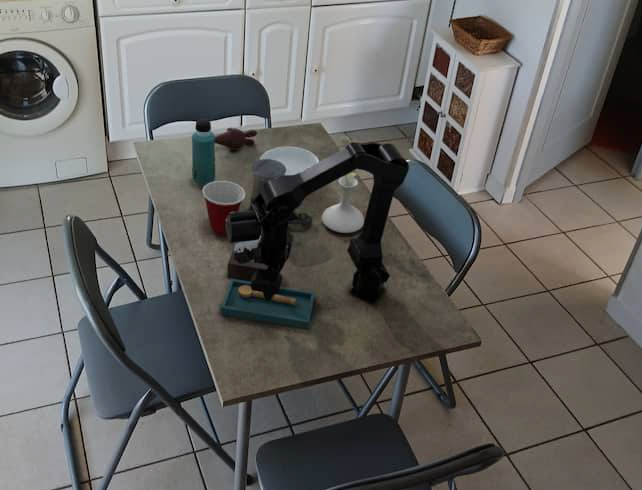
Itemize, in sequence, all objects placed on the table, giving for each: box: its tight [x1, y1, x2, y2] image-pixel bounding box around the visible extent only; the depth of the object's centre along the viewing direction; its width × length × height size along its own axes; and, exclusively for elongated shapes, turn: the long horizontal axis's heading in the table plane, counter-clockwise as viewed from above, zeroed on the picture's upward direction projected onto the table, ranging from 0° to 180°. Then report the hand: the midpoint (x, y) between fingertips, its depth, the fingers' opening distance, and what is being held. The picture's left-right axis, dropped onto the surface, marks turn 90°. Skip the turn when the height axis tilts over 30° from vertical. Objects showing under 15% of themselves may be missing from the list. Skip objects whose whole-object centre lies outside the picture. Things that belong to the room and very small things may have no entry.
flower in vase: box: [321, 135, 365, 234], centre depth 193 cm, size 13×11×25 cm
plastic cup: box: [201, 180, 246, 236], centre depth 190 cm, size 11×11×12 cm
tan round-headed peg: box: [238, 285, 296, 306], centre depth 172 cm, size 3×2×14 cm
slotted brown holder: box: [227, 247, 268, 282], centre depth 179 cm, size 10×6×4 cm, turn 82°
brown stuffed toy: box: [215, 127, 258, 152], centre depth 224 cm, size 7×7×15 cm
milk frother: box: [248, 159, 313, 226], centre depth 195 cm, size 14×16×15 cm
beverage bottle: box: [191, 118, 216, 186], centre depth 203 cm, size 6×7×20 cm
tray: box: [220, 278, 316, 330], centre depth 171 cm, size 20×10×2 cm, turn 82°
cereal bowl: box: [259, 146, 320, 175], centre depth 211 cm, size 17×17×7 cm
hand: (270, 289), depth 168 cm, fingers open, 7 cm apart
